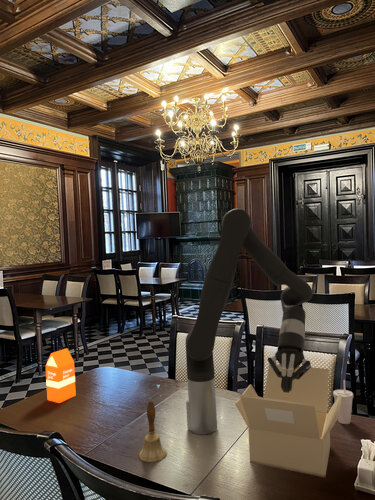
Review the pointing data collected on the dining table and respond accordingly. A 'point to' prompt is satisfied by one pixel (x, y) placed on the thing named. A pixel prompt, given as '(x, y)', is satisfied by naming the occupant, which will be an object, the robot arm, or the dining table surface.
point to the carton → (290, 446)
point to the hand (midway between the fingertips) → (285, 391)
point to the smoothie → (344, 404)
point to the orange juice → (60, 376)
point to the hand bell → (152, 440)
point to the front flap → (281, 416)
